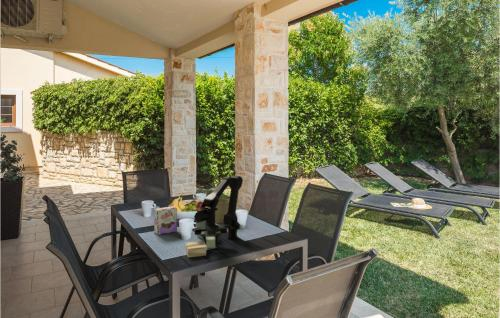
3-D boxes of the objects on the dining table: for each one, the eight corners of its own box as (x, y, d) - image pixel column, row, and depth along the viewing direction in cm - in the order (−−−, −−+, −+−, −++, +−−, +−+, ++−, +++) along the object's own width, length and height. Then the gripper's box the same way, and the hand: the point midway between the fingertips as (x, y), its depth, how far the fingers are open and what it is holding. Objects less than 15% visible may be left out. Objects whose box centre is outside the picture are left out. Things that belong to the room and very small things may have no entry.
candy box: (157, 235, 221) (157, 210, 219) (154, 233, 226) (153, 208, 224) (177, 231, 229) (177, 207, 227) (173, 229, 234) (173, 205, 232)
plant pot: (219, 225, 242) (219, 203, 240) (205, 221, 252) (205, 200, 250) (234, 221, 253) (234, 200, 251) (220, 217, 263) (220, 197, 261)
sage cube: (206, 245, 205) (205, 237, 204) (214, 244, 206) (214, 236, 205) (206, 248, 200) (206, 239, 199) (215, 247, 201) (215, 239, 200)
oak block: (185, 251, 195) (185, 242, 195) (203, 249, 198) (203, 240, 198) (187, 257, 186) (187, 248, 185) (206, 255, 189) (206, 247, 188)
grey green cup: (208, 239, 214) (208, 221, 212) (193, 238, 216) (193, 219, 214) (213, 234, 223) (213, 216, 222) (198, 233, 225) (198, 215, 224)
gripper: (194, 223, 191) (195, 250, 193) (228, 221, 195) (228, 248, 196) (194, 218, 202) (194, 243, 204) (225, 216, 206) (225, 241, 207)
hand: (210, 244), depth 202 cm, fingers open, 5 cm apart
